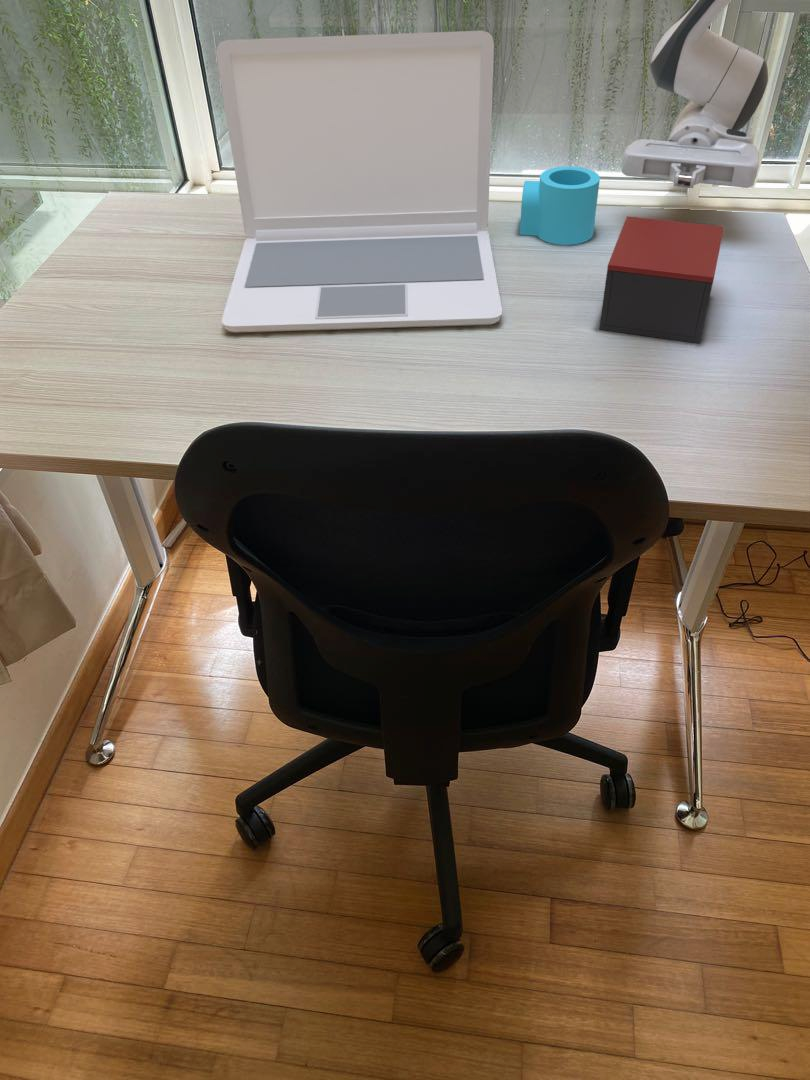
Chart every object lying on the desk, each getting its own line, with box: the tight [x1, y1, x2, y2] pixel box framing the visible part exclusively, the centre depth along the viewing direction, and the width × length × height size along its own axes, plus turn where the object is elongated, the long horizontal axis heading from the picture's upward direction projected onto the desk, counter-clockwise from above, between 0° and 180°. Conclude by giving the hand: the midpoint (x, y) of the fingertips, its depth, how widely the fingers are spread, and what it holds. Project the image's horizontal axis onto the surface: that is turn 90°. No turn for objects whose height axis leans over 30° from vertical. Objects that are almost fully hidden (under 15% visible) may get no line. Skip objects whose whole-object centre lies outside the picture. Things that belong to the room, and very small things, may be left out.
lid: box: [606, 215, 725, 284], centre depth 120 cm, size 16×14×1 cm
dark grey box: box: [598, 269, 714, 344], centre depth 122 cm, size 14×14×9 cm
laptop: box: [215, 30, 503, 333], centre depth 124 cm, size 40×31×31 cm
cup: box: [519, 165, 601, 246], centre depth 143 cm, size 12×9×9 cm
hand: (684, 182), depth 131 cm, fingers closed
